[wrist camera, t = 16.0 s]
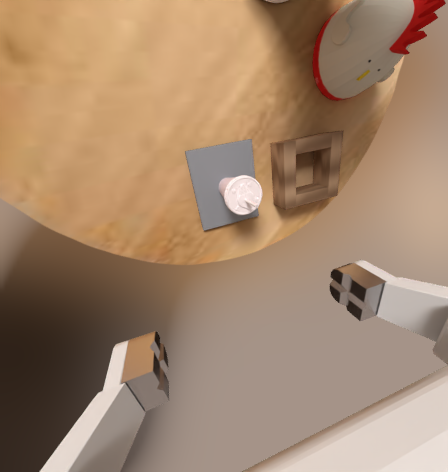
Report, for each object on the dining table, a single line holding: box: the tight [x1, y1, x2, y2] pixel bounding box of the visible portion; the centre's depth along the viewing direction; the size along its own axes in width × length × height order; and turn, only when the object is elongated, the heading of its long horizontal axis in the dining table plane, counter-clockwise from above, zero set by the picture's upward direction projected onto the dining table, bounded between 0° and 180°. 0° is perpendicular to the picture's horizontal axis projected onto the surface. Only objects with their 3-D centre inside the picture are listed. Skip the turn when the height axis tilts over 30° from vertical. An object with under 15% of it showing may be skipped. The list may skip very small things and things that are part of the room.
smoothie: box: [219, 175, 262, 215], centre depth 34 cm, size 6×6×14 cm
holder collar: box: [270, 131, 343, 210], centre depth 42 cm, size 13×13×5 cm
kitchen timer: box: [313, 0, 445, 101], centre depth 31 cm, size 14×14×15 cm
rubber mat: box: [185, 139, 259, 230], centre depth 41 cm, size 16×13×1 cm
